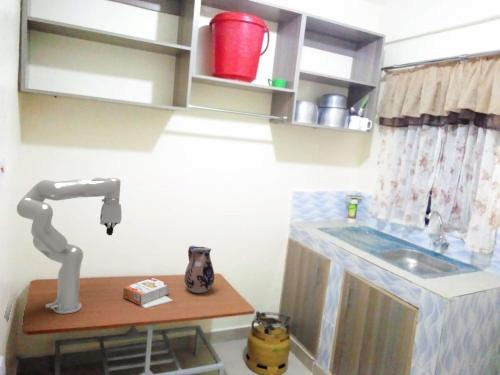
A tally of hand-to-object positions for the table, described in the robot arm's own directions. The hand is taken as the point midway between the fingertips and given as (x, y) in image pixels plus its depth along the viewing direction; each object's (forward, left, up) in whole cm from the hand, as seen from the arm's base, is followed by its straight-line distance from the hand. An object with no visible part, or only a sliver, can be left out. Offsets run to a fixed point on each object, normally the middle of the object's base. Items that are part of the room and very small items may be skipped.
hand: (109, 234), depth 198 cm
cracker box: (+5, -18, -29) cm, 35 cm away
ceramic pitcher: (+45, -22, -33) cm, 60 cm away
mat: (+16, -19, -33) cm, 41 cm away
